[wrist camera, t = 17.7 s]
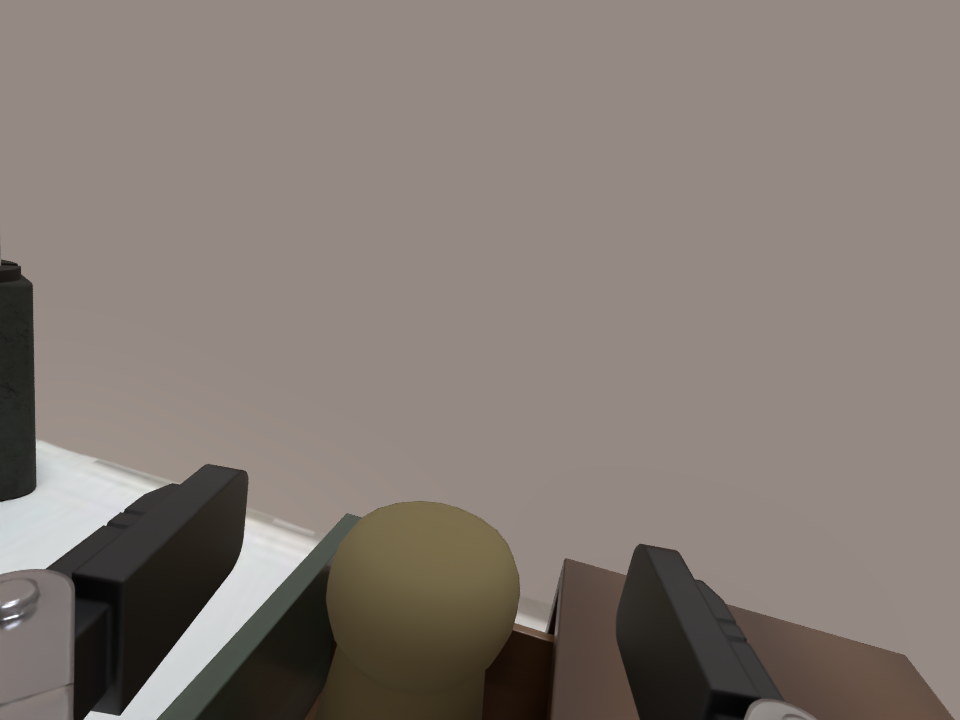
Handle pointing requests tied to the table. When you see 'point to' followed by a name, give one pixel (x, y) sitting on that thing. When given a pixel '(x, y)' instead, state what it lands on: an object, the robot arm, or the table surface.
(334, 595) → the pepper shaker
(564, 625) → the cabinet
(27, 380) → the candle
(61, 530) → the table surface
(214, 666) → the drawer
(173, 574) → the robot arm
